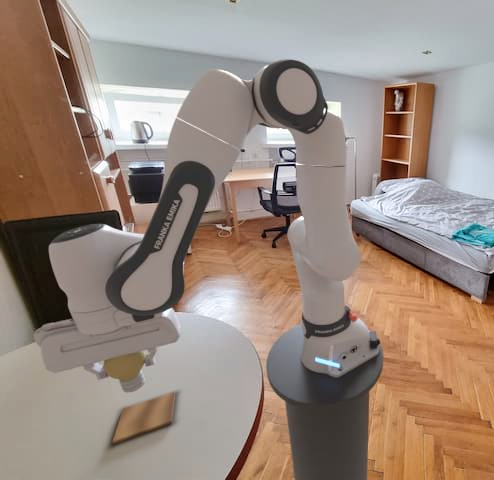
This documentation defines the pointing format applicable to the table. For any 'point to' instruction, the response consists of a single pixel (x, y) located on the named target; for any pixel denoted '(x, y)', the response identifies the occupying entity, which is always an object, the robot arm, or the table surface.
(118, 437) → the wooden board
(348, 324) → the robot arm
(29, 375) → the table surface
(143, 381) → the light bulb
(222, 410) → the table surface
